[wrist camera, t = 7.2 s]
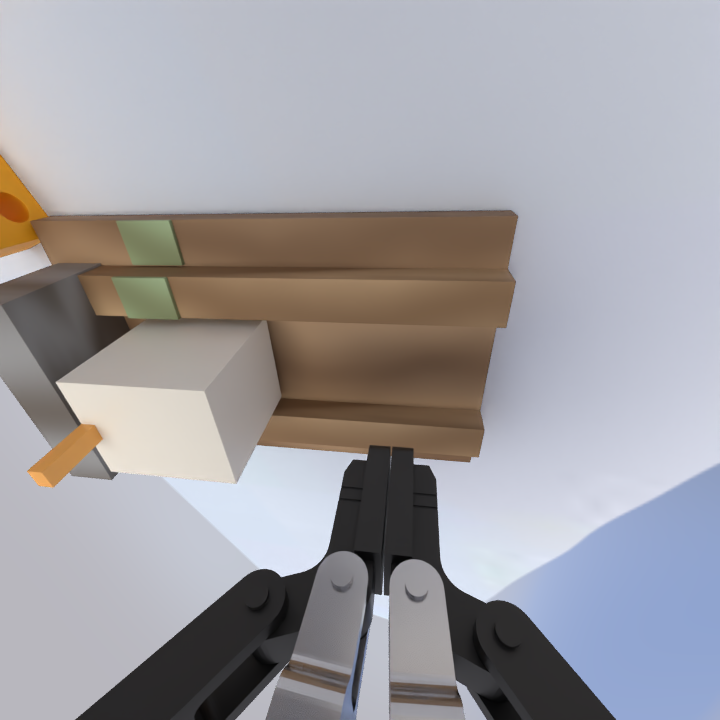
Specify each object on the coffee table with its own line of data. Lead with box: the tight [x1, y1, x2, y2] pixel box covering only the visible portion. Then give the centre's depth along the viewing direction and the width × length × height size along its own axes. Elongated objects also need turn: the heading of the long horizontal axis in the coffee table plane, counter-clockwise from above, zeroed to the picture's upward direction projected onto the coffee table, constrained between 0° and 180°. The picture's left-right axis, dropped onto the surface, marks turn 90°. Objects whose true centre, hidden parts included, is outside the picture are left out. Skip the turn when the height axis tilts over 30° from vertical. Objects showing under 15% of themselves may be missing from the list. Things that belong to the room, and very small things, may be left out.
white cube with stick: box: [27, 318, 281, 487], centre depth 16 cm, size 5×6×8 cm
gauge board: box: [0, 210, 518, 480], centre depth 17 cm, size 14×22×6 cm, turn 92°
